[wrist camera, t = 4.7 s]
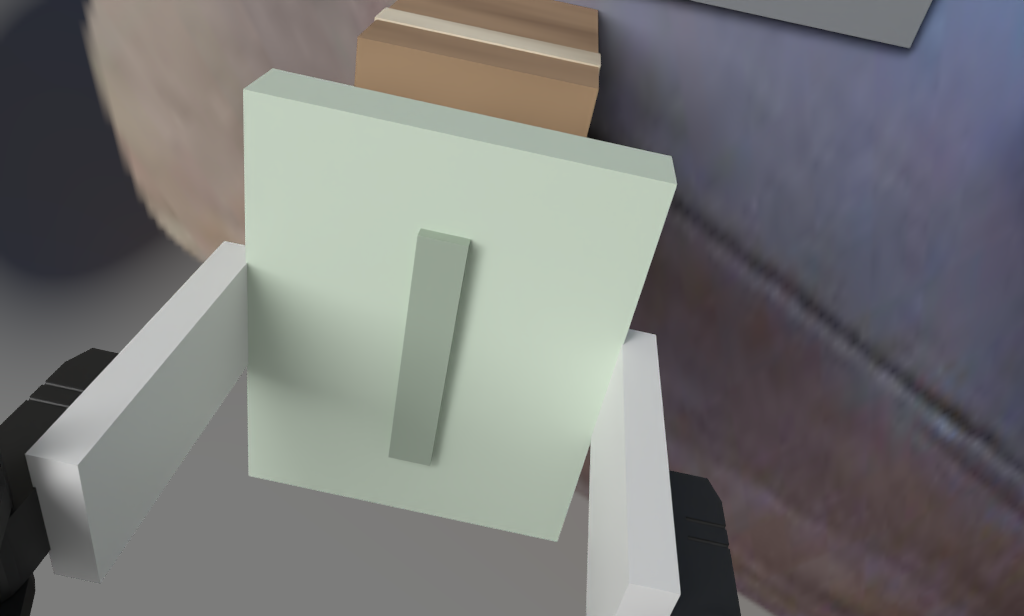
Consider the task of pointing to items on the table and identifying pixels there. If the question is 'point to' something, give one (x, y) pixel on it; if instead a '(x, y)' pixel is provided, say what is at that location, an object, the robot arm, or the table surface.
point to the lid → (435, 298)
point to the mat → (843, 16)
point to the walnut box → (488, 58)
